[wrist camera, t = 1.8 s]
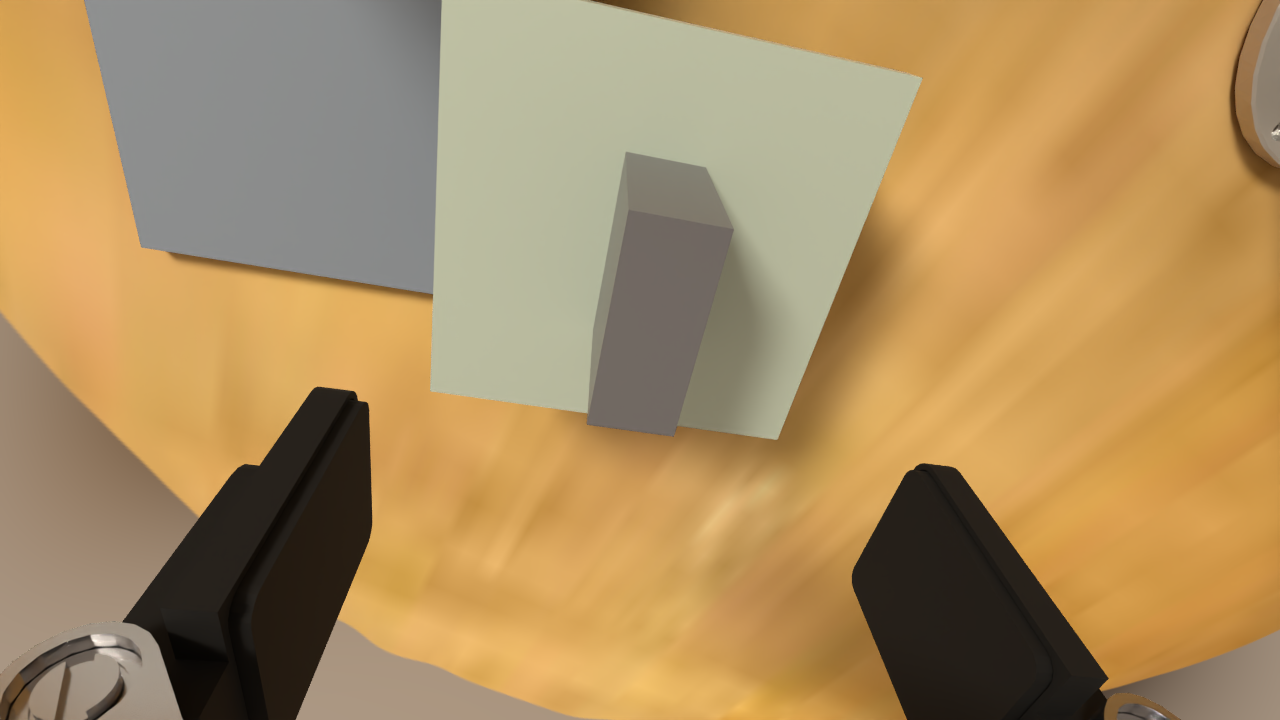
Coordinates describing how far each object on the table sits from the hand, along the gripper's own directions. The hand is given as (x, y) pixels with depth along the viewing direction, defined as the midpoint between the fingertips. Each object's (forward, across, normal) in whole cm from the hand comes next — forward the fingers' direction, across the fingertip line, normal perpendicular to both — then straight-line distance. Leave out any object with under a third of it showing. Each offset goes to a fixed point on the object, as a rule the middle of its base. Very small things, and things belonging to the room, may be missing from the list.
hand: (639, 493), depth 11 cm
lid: (+12, -1, 0) cm, 12 cm away
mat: (+20, +13, 0) cm, 24 cm away
